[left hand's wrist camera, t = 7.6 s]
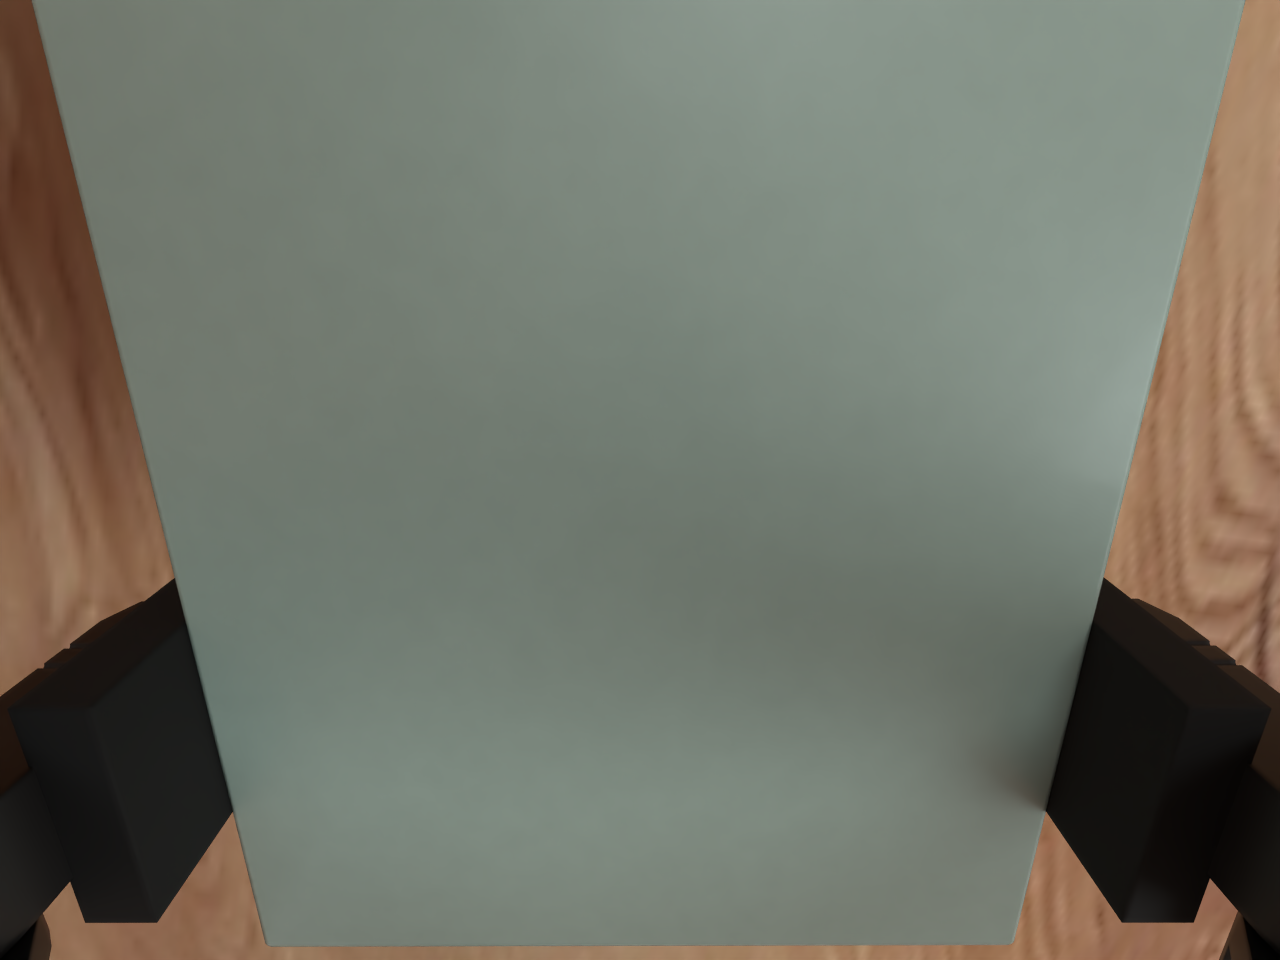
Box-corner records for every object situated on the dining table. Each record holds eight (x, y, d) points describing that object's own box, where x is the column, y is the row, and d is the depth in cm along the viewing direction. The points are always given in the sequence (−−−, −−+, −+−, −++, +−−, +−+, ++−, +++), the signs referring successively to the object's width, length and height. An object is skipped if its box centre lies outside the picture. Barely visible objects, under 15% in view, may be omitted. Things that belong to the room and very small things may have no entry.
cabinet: (383, -214, 14) (-331, -1429, 4) (892, -214, 14) (1601, -1416, 4) (459, 568, 20) (263, 949, 10) (819, 567, 20) (1015, 948, 10)
